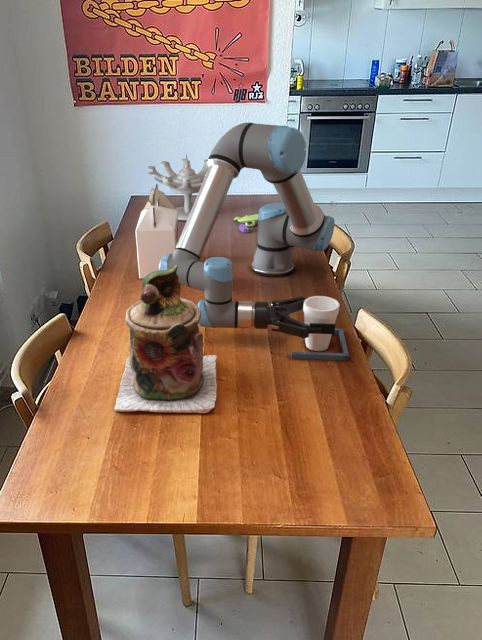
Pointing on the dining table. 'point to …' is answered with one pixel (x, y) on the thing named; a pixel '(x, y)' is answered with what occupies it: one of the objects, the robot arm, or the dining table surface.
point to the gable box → (156, 232)
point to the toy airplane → (247, 222)
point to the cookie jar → (166, 352)
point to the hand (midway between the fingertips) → (332, 317)
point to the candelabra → (182, 183)
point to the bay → (326, 356)
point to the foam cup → (319, 319)
